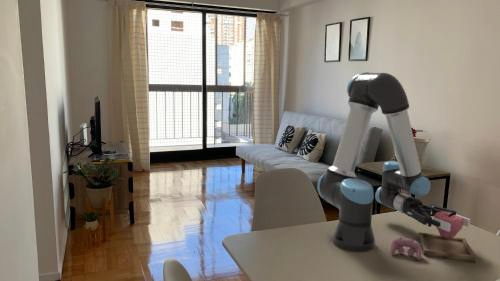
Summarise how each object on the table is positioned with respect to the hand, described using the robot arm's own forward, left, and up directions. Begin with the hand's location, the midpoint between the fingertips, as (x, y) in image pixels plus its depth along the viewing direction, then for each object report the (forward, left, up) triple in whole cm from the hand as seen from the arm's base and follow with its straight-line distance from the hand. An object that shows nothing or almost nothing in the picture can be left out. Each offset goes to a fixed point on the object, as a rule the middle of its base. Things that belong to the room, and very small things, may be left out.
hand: (459, 225), depth 133 cm
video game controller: (-17, -7, -11) cm, 22 cm away
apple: (-3, +3, -6) cm, 8 cm away
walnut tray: (-3, +3, -11) cm, 12 cm away
